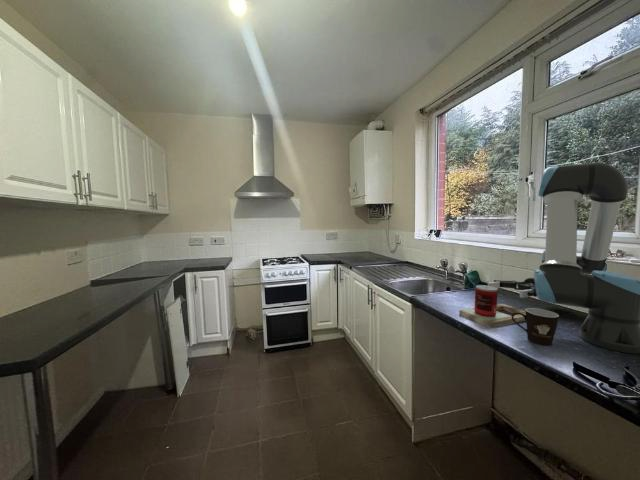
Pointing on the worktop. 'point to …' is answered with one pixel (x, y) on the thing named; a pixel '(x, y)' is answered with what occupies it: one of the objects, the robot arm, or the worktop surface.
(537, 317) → the coffee mug
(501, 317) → the board
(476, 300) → the canned food
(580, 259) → the robot arm
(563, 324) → the worktop surface
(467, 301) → the worktop surface
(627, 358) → the worktop surface
